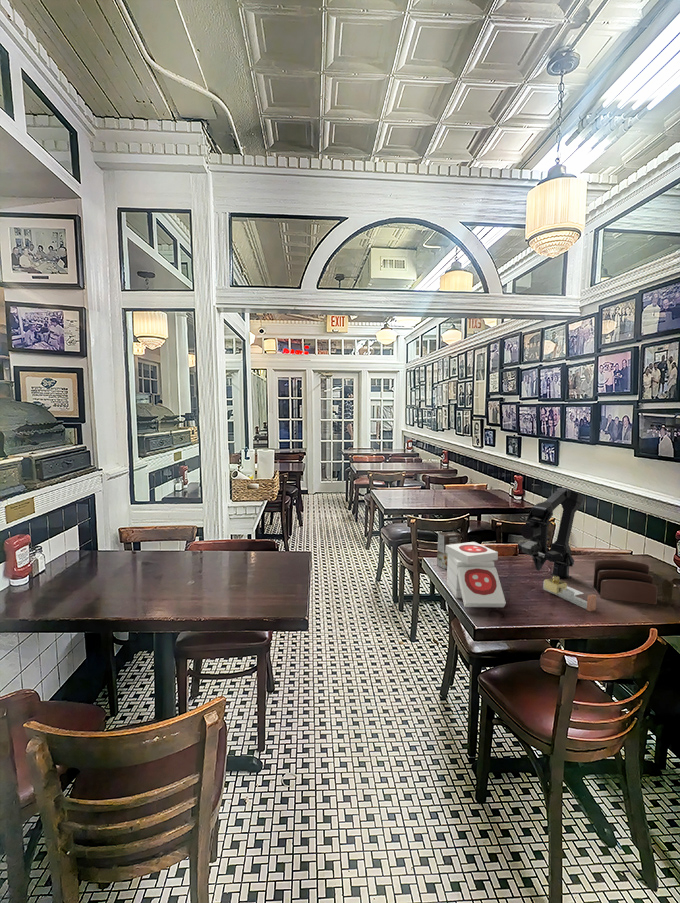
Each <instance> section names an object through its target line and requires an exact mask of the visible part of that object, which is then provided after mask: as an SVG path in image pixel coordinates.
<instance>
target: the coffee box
mask: <svg viewBox="0 0 680 903" xmlns="http://www.w3.org/2000/svg"><path fill="white" fill-rule="evenodd" d="M459 543H462V534H460V533H457V532H455V531H445V532H437V553H436V565H437V566H438V567H440V568H442V569H445V570H446V569H447V561H448V554H447V553H446V552H445V548H446V545H451V544H459Z"/></svg>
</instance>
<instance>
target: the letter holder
mask: <svg viewBox="0 0 680 903" xmlns="http://www.w3.org/2000/svg"><path fill="white" fill-rule="evenodd" d="M593 574H594V575H593V584H592V585H593V586H592V589H593V590H594V592H595V593H596V594H597V596H598V597H599V598H600V599H605V600H606V599H607V600H615V601H624V602H633V603H634V602H635V603H643V604H646V605H656V606H657V604H658V586H657V585H655V584H654V577H653V575H651V574H650V566H649V565H648V564H646V563H642V562H638V561H630V560H623V559H622V560H620V559H597V560H596V561H595V562H594V572H593Z"/></svg>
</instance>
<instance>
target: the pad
mask: <svg viewBox="0 0 680 903" xmlns="http://www.w3.org/2000/svg"><path fill="white" fill-rule="evenodd" d="M567 589H569V590H571V591H573V592H574V596H580V595H583V594H585V593H584V592H582V591H580V590H577V589H575V588H573V587H571V586H568V585H567Z"/></svg>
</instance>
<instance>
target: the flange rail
mask: <svg viewBox="0 0 680 903" xmlns="http://www.w3.org/2000/svg"><path fill="white" fill-rule="evenodd" d="M542 584H543V585H542V586H543V587H542V590H544V591H546V592H548V593H551V594H552V595H555V596H557V597H559V598H561V599H563V600H565V601H568V602H570V603H572V604H574V605H576V606H578V607H581V608H583V609H584V610H586V611H587V612H593V611H596V608H597V595H596V594H595V593H594V594H589V595H587V600H585V599H583V598H581V597H578V596H577V595H575V596H574V592H573V591H571V590H569V589H567V588H564V587H562V588H559V593H558V594H556V593H554V592H552V591H549V590H547V589H545V588H544V585H545V579H544V580H543V583H542Z"/></svg>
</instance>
